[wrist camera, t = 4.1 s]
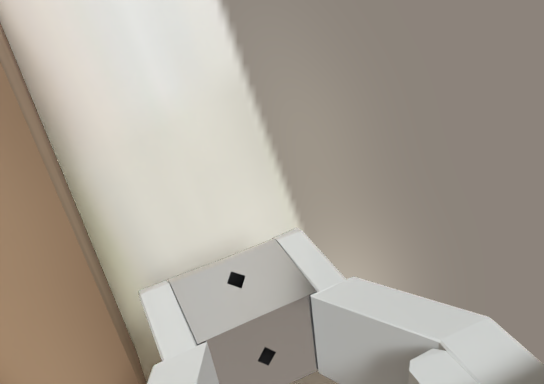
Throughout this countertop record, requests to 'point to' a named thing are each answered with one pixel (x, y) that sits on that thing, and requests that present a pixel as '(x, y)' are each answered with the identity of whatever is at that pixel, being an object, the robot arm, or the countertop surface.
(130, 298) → the countertop surface
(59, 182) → the bench plate
